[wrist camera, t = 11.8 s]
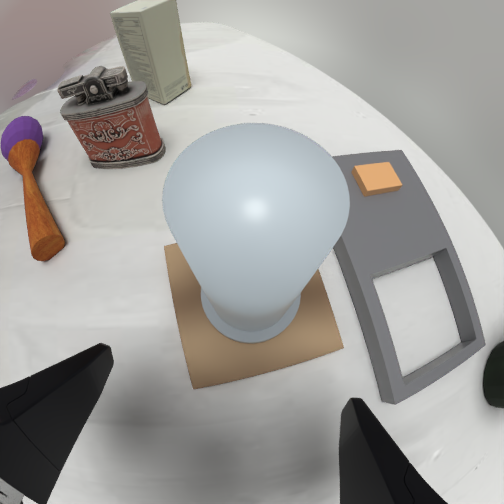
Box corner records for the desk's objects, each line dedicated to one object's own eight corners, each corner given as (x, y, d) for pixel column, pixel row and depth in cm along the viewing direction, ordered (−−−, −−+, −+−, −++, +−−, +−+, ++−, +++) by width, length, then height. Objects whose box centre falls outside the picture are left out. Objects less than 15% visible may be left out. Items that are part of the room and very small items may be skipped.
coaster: (340, 348, 18) (343, 347, 17) (195, 388, 16) (193, 389, 16) (296, 220, 21) (298, 215, 20) (166, 250, 20) (164, 246, 19)
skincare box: (192, 87, 28) (180, -4, 16) (163, 107, 26) (141, 11, 15) (159, 75, 29) (143, -4, 18) (132, 93, 28) (108, 12, 16)
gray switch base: (470, 347, 17) (492, 343, 14) (382, 401, 16) (401, 405, 13) (393, 162, 24) (404, 144, 21) (303, 175, 23) (309, 153, 20)
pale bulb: (314, 310, 18) (410, 221, 7) (235, 361, 16) (213, 360, 5) (263, 239, 20) (281, 93, 8) (188, 283, 18) (114, 165, 7)
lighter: (168, 138, 24) (144, 51, 15) (161, 165, 23) (130, 73, 14) (97, 146, 24) (60, 74, 15) (87, 172, 23) (41, 98, 14)
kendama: (6, 263, 15) (-8, 135, 19) (51, 274, 21) (19, 154, 25) (46, 213, 16) (22, 99, 20) (89, 234, 21) (48, 123, 26)
